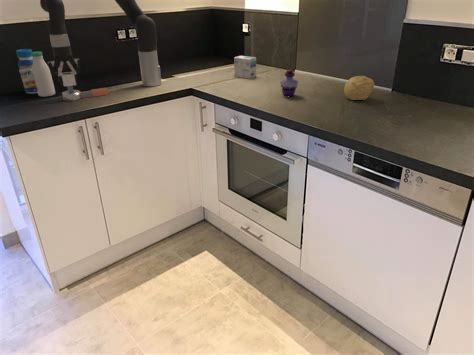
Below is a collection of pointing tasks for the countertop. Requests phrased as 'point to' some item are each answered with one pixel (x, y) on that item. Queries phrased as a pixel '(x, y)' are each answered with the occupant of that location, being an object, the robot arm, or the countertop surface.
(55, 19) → the robot arm
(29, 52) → the beverage bottle
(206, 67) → the countertop surface
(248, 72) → the light bulb box
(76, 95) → the ratchet
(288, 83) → the potion bottle
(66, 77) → the socket
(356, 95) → the tan lumpy round lump
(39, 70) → the milk bottle
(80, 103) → the countertop surface
